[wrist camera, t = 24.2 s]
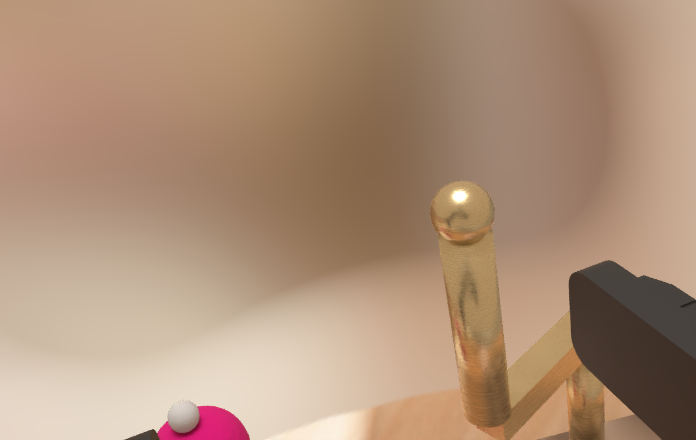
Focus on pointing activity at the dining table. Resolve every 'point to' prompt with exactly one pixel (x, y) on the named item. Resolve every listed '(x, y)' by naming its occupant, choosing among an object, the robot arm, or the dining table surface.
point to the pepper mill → (201, 424)
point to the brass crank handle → (487, 331)
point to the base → (620, 430)
